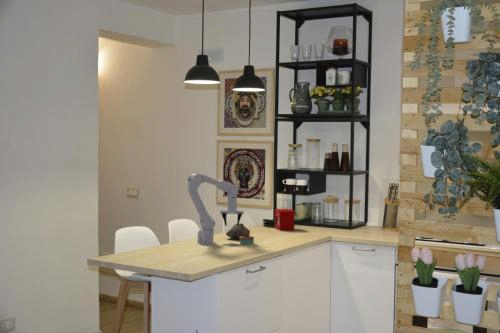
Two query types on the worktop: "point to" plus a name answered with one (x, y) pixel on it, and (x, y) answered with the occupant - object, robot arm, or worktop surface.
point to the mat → (231, 245)
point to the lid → (246, 235)
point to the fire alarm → (284, 219)
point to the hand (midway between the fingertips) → (231, 225)
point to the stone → (236, 231)
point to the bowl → (246, 242)
